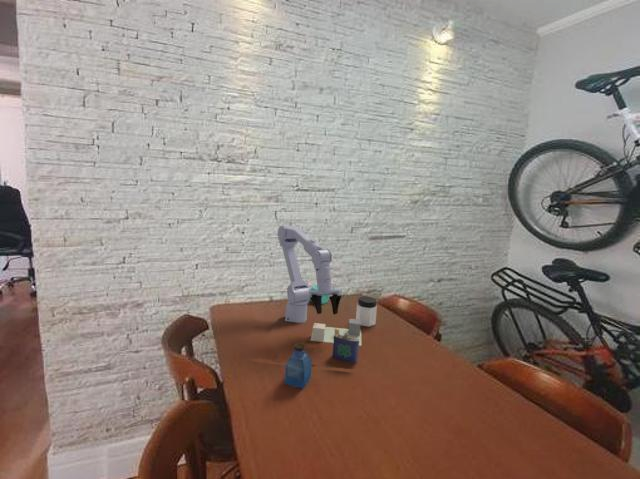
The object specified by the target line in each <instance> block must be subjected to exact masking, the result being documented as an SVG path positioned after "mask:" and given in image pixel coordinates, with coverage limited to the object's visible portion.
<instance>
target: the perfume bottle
mask: <svg viewBox="0 0 640 479" xmlns="http://www.w3.org/2000/svg"><path fill="white" fill-rule="evenodd" d="M305 346H306V345H305V344H304V343H301V342H297V343H295V344H294V348H293V353H292V355H291V356H290V357H289V359H288V361H287V362H286V364H285V369H284V370H285V371H284V372H285V373H284V375H285V376H284V385H287V384H288V385H287V386H290V385H291V387H294V386H295V388H298V387H299V389H303V390H304V389H305V388H306V386H307V384H308V383H309V381H310V380H311V378H312V376H311V375H312V359H311V357H310V355H309V354H308V353H305V352H306V349H305Z"/></svg>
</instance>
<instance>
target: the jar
mask: <svg viewBox="0 0 640 479" xmlns="http://www.w3.org/2000/svg"><path fill="white" fill-rule="evenodd" d="M357 301H358V302H357V303H356V310H355V311H356V314H355V315H356V316H355V319H358V320H360V322H361V325H360V326H363V327H368V328H369V327H373V326H375V325H376V322H377V312H378V310H377V309H378V306H377V299H376V298H375V297H373V296H367V295H366V296H365V295H364V296H359V297H358V299H357Z"/></svg>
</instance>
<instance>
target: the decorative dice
mask: <svg viewBox="0 0 640 479" xmlns="http://www.w3.org/2000/svg"><path fill="white" fill-rule="evenodd" d="M310 289H311V291H316V290H318V288H317V284H316V285H313V286H312V287H311V288H310ZM325 294H328V293H325ZM329 297H331V295H324V296H322V300H321V305H325V304H327V303H328V301H329V299H330V298H329Z"/></svg>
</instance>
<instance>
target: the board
mask: <svg viewBox="0 0 640 479" xmlns="http://www.w3.org/2000/svg"><path fill="white" fill-rule="evenodd" d="M345 333H347V334H348V333H349V328H341V327H340V328H339V327H332V326H325V338H324V341H319V340H312V335H311V336H310V338H309V341H312V342H321V343H322V342H323V343H330V344H333V343H334V335H336V334H340V335H342V336H343V335H345ZM348 337H350V338H356V339H358V340H359V346H360V347H361V346H362V330H361V329H360V336H358V335H348Z"/></svg>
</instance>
